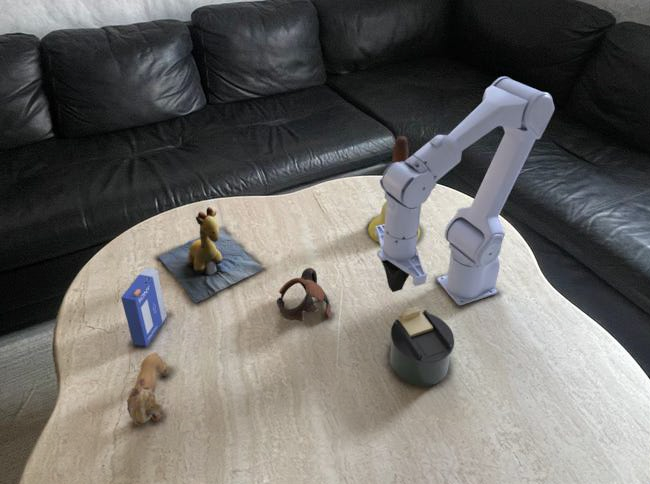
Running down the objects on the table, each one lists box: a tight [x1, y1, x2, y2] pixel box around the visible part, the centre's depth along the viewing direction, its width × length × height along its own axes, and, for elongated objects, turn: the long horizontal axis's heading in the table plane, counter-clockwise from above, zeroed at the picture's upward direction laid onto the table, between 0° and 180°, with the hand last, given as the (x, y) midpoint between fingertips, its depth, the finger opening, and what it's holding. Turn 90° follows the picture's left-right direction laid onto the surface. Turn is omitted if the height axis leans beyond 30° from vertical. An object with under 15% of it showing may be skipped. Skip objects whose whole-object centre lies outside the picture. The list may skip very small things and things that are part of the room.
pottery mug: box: [276, 267, 332, 323], centre depth 100 cm, size 12×10×8 cm
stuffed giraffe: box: [157, 206, 264, 304], centre depth 109 cm, size 16×18×16 cm
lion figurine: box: [126, 352, 170, 427], centre depth 81 cm, size 15×5×9 cm, turn 13°
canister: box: [389, 309, 455, 387], centre depth 88 cm, size 11×11×8 cm
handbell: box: [367, 135, 421, 244], centre depth 116 cm, size 12×12×25 cm
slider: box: [396, 306, 433, 337], centre depth 89 cm, size 4×5×2 cm
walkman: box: [120, 267, 168, 348], centre depth 94 cm, size 8×3×12 cm, turn 166°
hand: (395, 288), depth 94 cm, fingers closed
